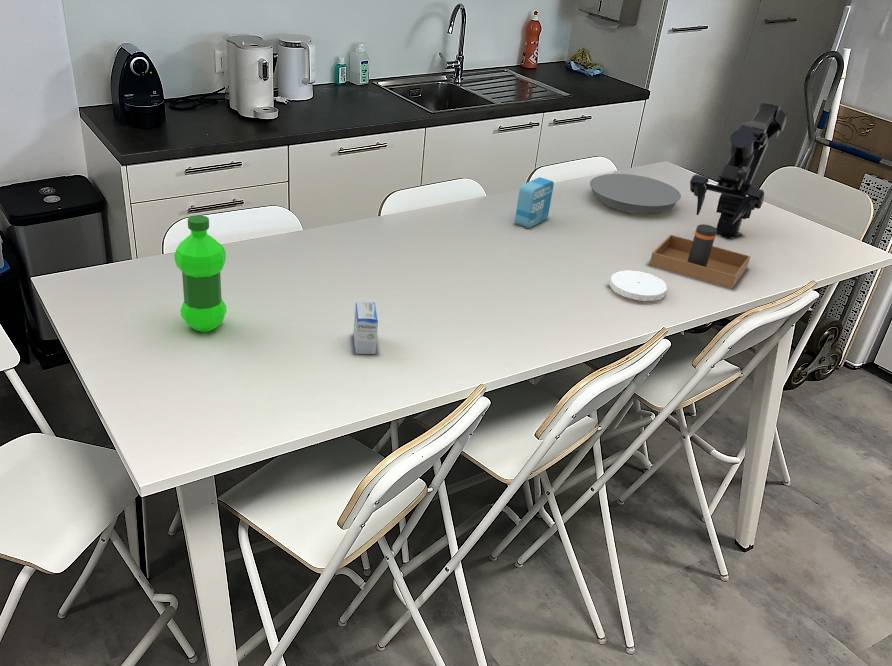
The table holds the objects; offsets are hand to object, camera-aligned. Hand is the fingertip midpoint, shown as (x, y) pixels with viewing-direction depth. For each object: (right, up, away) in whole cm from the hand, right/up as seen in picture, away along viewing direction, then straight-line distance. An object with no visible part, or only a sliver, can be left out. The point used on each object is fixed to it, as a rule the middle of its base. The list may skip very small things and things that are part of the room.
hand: (714, 218), depth 226 cm
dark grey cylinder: (-4, -13, +2) cm, 14 cm away
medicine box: (-92, -35, -41) cm, 107 cm away
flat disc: (-9, +13, +43) cm, 46 cm away
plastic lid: (-24, -21, -10) cm, 33 cm away
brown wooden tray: (-3, -12, +4) cm, 13 cm away
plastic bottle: (-127, -31, -38) cm, 137 cm away
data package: (-44, +4, +24) cm, 51 cm away
